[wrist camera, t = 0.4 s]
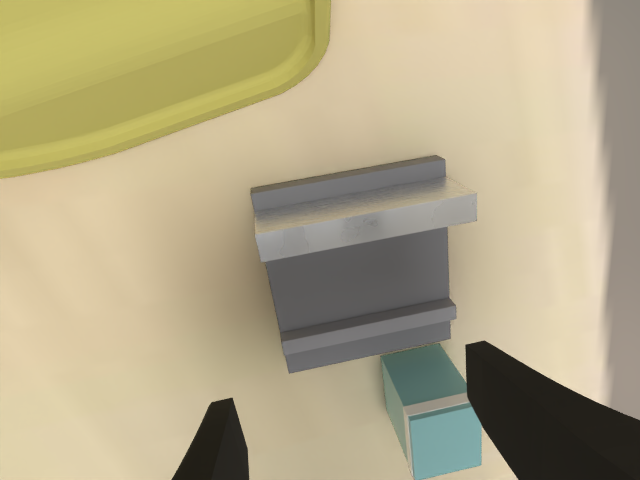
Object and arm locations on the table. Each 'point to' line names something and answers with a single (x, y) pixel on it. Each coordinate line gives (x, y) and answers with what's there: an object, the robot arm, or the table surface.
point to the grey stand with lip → (360, 278)
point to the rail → (362, 217)
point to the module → (431, 412)
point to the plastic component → (140, 70)
